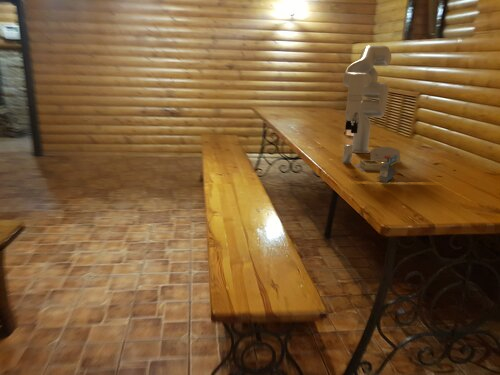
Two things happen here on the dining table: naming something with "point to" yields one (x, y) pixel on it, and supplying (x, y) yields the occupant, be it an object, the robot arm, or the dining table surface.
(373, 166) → the square socket board
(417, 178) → the dining table surface
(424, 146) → the dining table surface
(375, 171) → the base board
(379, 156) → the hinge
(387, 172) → the label tape box
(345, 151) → the beige cylindrical canister
